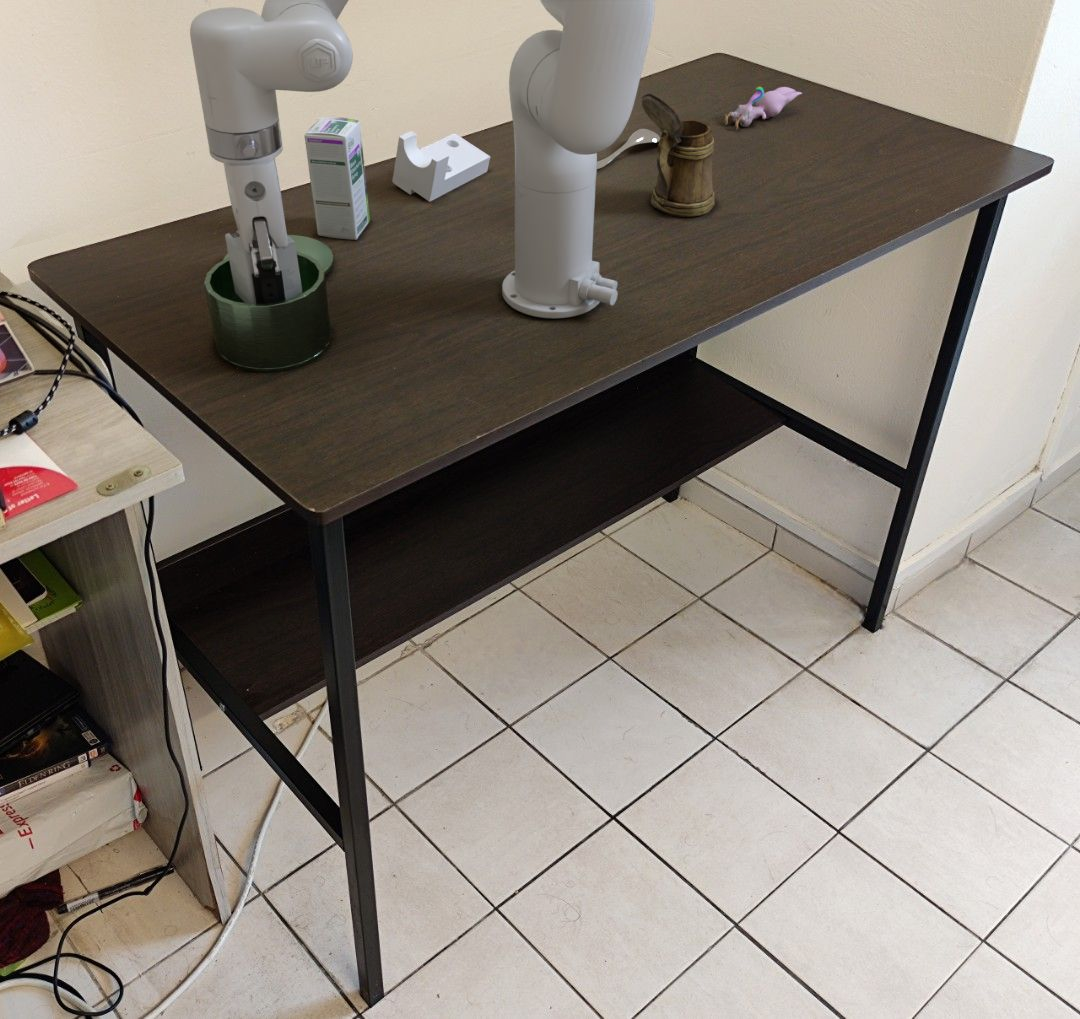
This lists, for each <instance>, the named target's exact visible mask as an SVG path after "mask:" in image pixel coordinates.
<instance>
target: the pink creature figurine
mask: <svg viewBox="0 0 1080 1019" xmlns="http://www.w3.org/2000/svg"><path fill="white" fill-rule="evenodd" d="M754 90H756V91H755V92H754V94H753V95H752V96H751V97H750V99H749V100H748V102H747V103H745V104H738V105H737V108H736V109H735V110H734V111H729V113H727V114H725V117H724V121H723V123H725V124H724V126H726V125H728V124H729V122H728V119H729V117H730V118H731V121H732V122H733V123H734V126H733V127H734V128H736V129H735V131H737V130H738V129H739V125H740V126H741V127H742V128H747V127H749V126H750V125H751V123H752V122H753V120H756V119H758V118H760V117H762V120H766V119H770V118H774V117H777V116H778V115H779V114H780V113H781V112H782V110H783V108H784V107H785V106H786V105H787V104H789V103H790V102H792V101H793V100H795V99H796V98H797V97H798V96H801V95H803V93H802V92H801V91H796V89H794V88H791V87H788V86H781V87H777V88H776V89H774V90H769V91H766V92H765V90H764V88H763V87H762V86H757V87H756V88H755V89H754ZM754 103H755V106H753V104H754Z"/></svg>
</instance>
